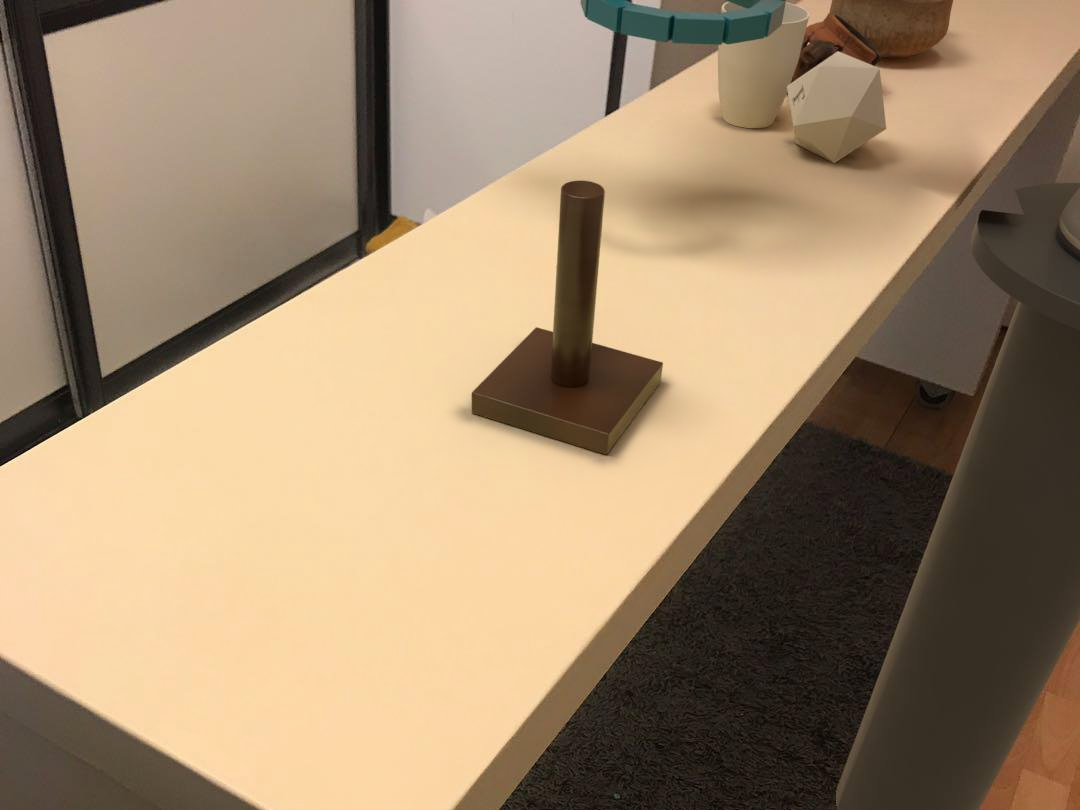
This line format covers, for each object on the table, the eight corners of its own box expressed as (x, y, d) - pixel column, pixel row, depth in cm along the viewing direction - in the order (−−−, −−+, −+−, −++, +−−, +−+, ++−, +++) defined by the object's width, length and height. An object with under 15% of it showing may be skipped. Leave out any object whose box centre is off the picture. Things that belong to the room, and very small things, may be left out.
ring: (802, 8, 80) (806, -16, 79) (743, 58, 70) (747, 31, 69) (627, -23, 84) (629, -46, 83) (548, 20, 74) (550, -5, 73)
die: (798, 132, 105) (766, 55, 98) (890, 95, 102) (864, 12, 94) (809, 195, 101) (776, 120, 94) (905, 158, 98) (879, 77, 90)
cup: (799, 115, 107) (820, 7, 101) (773, 140, 102) (793, 28, 95) (723, 99, 110) (739, -7, 103) (694, 122, 104) (708, 12, 98)
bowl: (838, 5, 134) (880, -79, 126) (938, 58, 132) (985, -24, 125) (795, 39, 121) (838, -52, 114) (904, 97, 119) (955, 9, 112)
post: (660, 382, 69) (688, 177, 60) (606, 455, 62) (628, 239, 54) (535, 346, 71) (543, 145, 62) (471, 413, 65) (470, 200, 56)
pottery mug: (779, 73, 118) (831, 5, 114) (842, 129, 118) (897, 63, 113) (750, 72, 108) (806, -2, 104) (819, 134, 108) (878, 62, 103)
